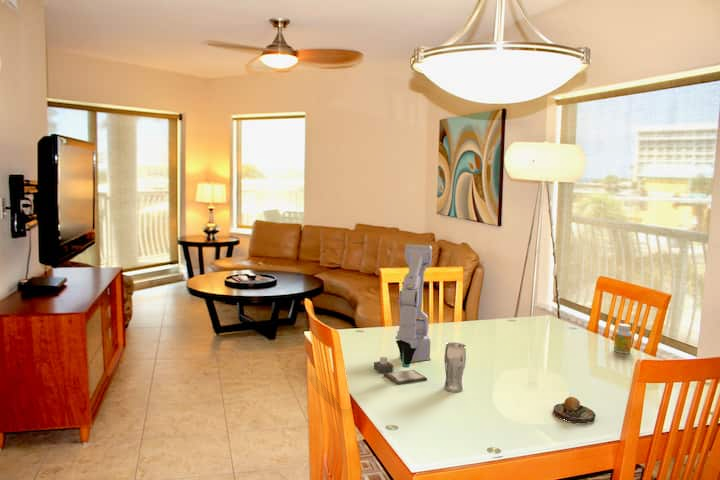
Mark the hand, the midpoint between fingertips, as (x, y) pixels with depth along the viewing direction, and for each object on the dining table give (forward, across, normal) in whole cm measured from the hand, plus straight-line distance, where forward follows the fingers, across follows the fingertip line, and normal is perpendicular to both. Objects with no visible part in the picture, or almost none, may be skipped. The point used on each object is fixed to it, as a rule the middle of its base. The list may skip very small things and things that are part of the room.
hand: (405, 362), depth 201 cm
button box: (+6, -9, -5) cm, 12 cm away
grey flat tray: (+6, 0, 0) cm, 6 cm away
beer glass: (+6, +12, +12) cm, 19 cm away
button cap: (+4, -9, -5) cm, 11 cm away
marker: (+1, 0, 0) cm, 1 cm away
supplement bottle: (+6, -13, +101) cm, 102 cm away
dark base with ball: (+6, +39, +39) cm, 56 cm away
